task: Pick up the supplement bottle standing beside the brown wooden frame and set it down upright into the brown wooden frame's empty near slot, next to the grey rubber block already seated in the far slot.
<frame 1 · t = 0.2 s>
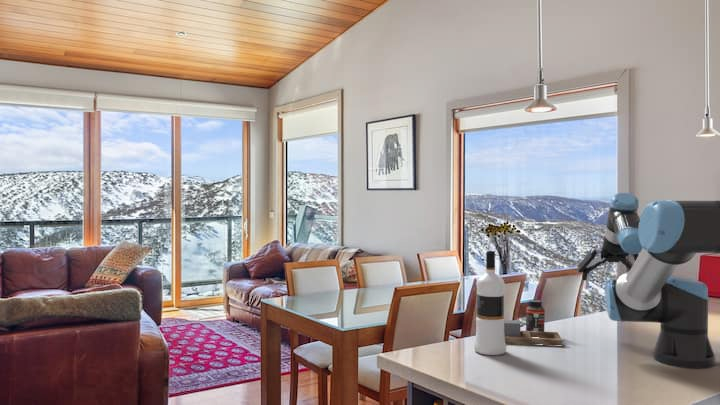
hand: (607, 287, 193), 16 cm above the kitchen island, tool tilted 35°, fingers open, 13 cm apart
supplement bottle: (535, 335, 193), on the kitchen island
vodka: (490, 352, 171), on the kitchen island
block: (511, 340, 185), resting in brown wooden frame
brown wooden frame: (526, 340, 184), on the kitchen island
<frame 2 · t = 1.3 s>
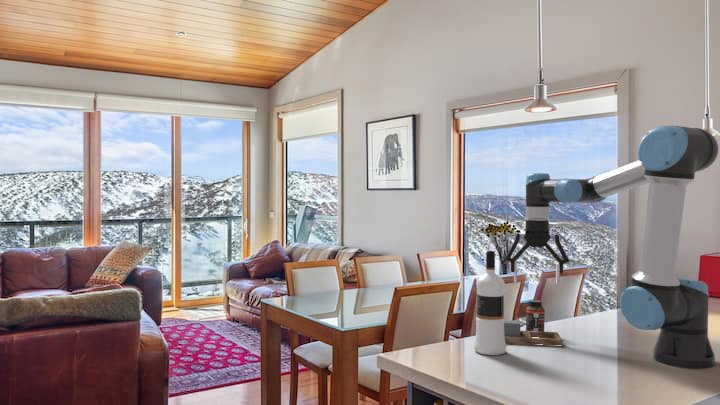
hand: (536, 283, 193), 17 cm above the kitchen island, tool pointing down, fingers open, 13 cm apart
nothing on the kitchen island moved.
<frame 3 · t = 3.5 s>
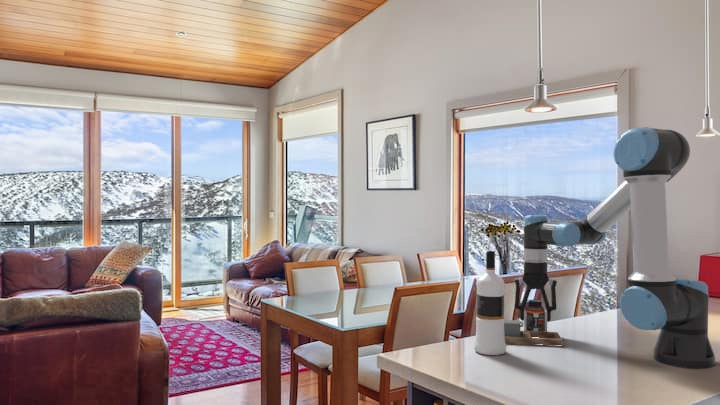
hand: (535, 330, 193), 1 cm above the kitchen island, tool pointing down, fingers closed on supplement bottle, 6 cm apart
supplement bottle: (535, 334, 193), on the kitchen island, touching gripper
everything else where it was.
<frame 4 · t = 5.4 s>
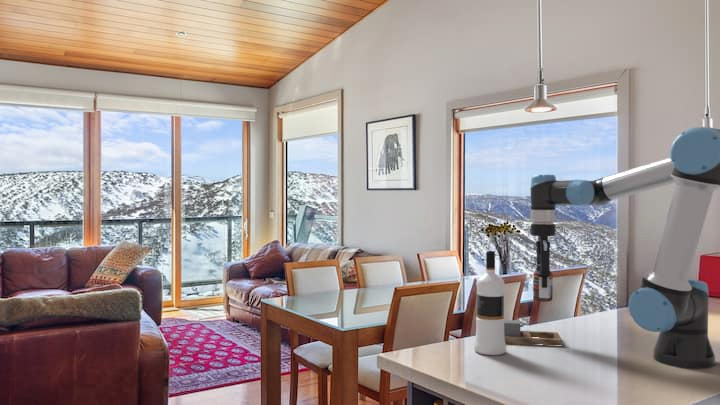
hand: (542, 295, 183), 15 cm above the kitchen island, tool pointing down, fingers closed on supplement bottle, 6 cm apart
supplement bottle: (542, 301, 184), point 13 cm above the kitchen island, touching gripper
everything else where it was.
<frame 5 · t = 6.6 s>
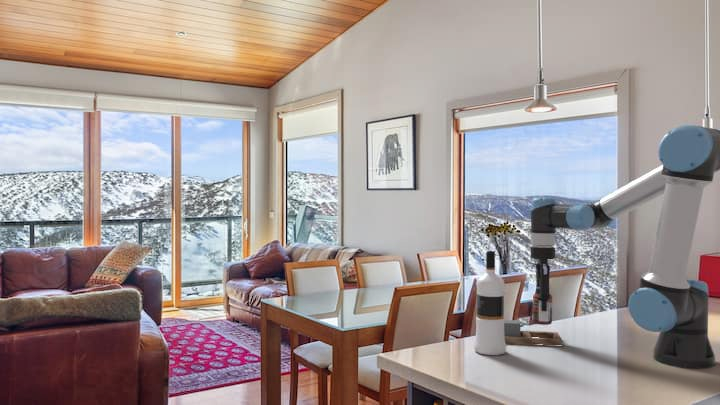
hand: (542, 318, 184), 7 cm above the kitchen island, tool pointing down, fingers closed on supplement bottle, 6 cm apart
supplement bottle: (542, 323, 184), point 6 cm above the kitchen island, touching gripper
everything else where it was.
when the fingers open (4 cm above the kitchen island, at t = 7.6 s): supplement bottle drops 2 cm, resting in brown wooden frame.
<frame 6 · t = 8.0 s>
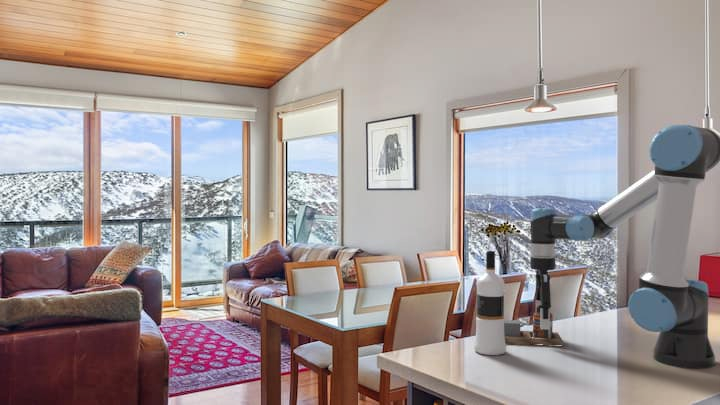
hand: (542, 324, 184), 5 cm above the kitchen island, tool pointing down, fingers open, 12 cm apart
supplement bottle: (542, 342, 184), resting in brown wooden frame
everything else where it was.
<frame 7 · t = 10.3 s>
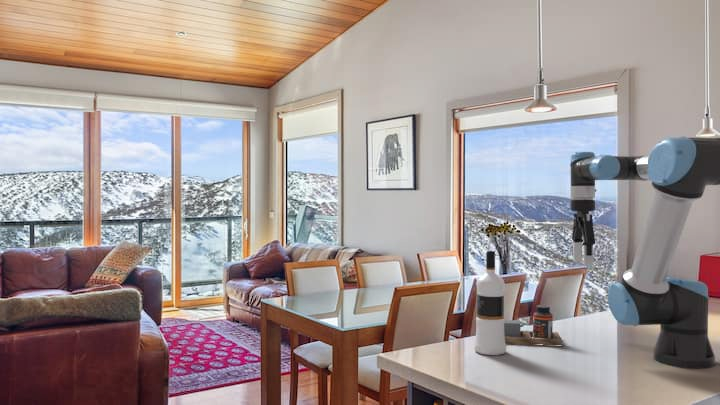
hand: (582, 263, 190), 24 cm above the kitchen island, tool pointing down, fingers open, 13 cm apart
nothing on the kitchen island moved.
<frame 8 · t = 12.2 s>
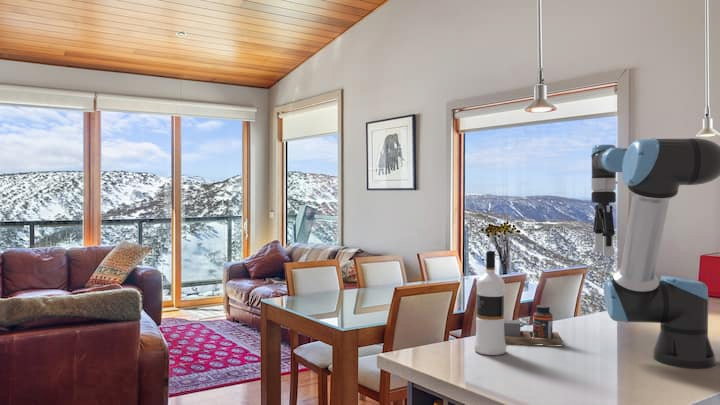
hand: (603, 254, 194), 27 cm above the kitchen island, tool pointing down, fingers open, 13 cm apart
nothing on the kitchen island moved.
at the end: supplement bottle 0.0 cm from the target spot on the brown wooden frame, point 0.0 cm above the brown wooden frame's base; supplement bottle tilted 0°; the gripper is holding nothing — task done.
